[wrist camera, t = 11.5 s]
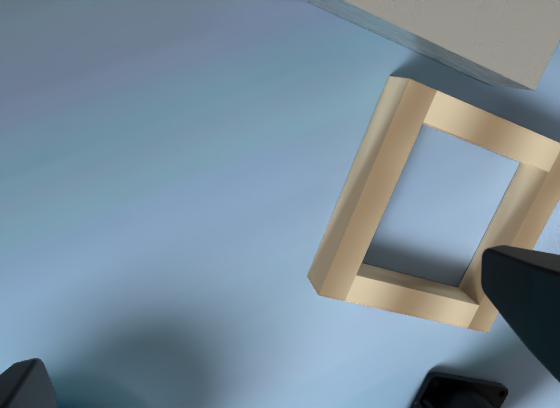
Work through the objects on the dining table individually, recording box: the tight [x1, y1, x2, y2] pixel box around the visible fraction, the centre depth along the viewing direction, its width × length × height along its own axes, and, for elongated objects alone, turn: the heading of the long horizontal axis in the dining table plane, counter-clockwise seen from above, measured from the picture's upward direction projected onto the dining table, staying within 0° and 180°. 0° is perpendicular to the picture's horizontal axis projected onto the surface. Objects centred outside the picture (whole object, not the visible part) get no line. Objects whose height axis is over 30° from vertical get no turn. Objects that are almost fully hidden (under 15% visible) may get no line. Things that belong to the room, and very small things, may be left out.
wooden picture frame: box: [307, 76, 560, 333], centre depth 24 cm, size 11×11×2 cm
